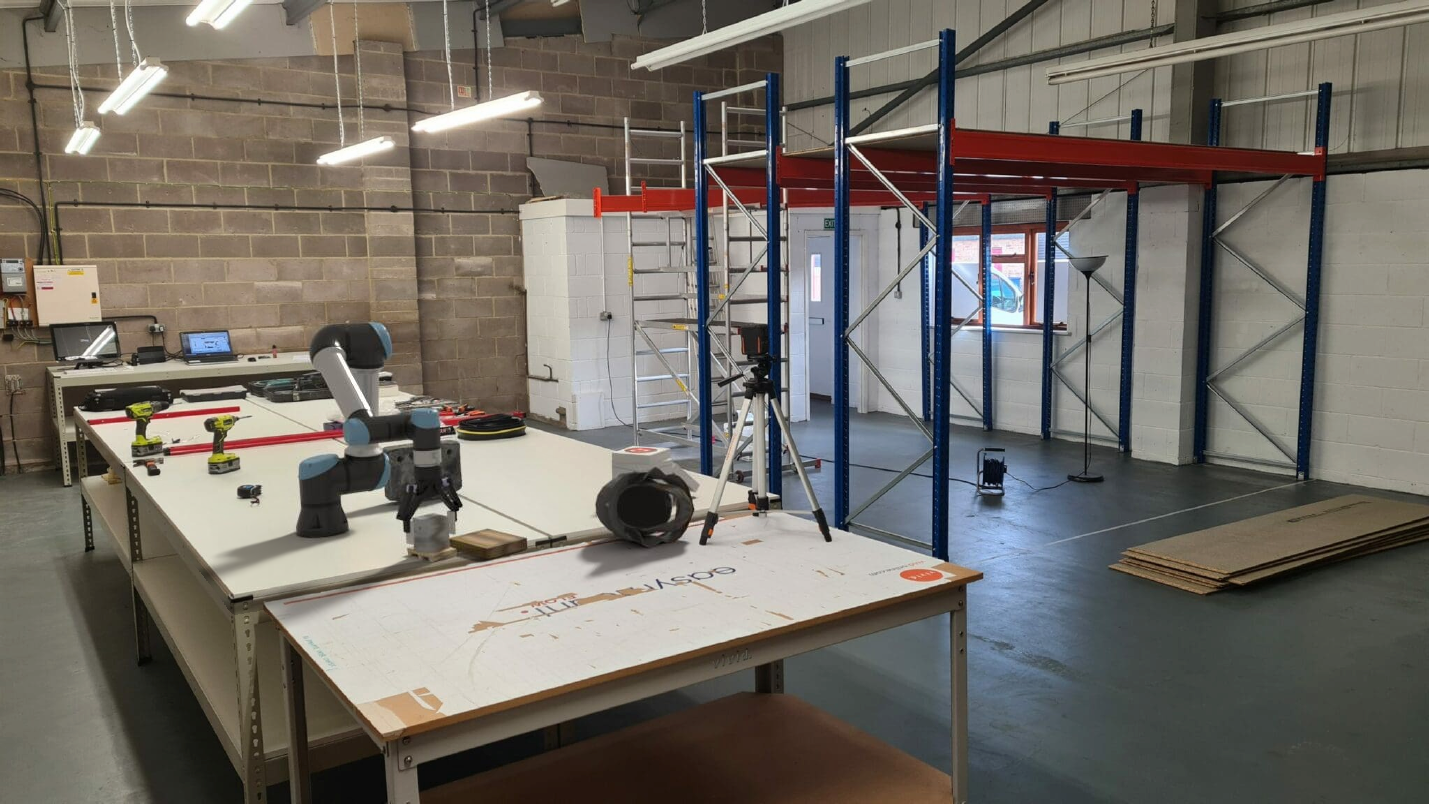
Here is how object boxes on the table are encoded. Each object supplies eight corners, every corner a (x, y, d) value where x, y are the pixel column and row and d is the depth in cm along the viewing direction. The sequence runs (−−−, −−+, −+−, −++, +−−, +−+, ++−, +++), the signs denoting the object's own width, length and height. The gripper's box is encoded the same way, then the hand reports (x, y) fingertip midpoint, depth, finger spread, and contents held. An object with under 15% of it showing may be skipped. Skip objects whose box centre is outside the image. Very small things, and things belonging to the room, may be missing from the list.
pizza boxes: (703, 496, 348) (703, 446, 345) (639, 510, 327) (638, 457, 324) (667, 488, 361) (666, 440, 359) (603, 502, 340) (602, 450, 338)
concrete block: (455, 492, 358) (452, 438, 355) (464, 497, 350) (461, 441, 348) (381, 502, 342) (378, 446, 340) (388, 507, 335) (385, 449, 333)
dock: (487, 559, 271) (487, 548, 271) (448, 548, 283) (448, 538, 282) (527, 548, 282) (527, 537, 282) (488, 538, 293) (487, 528, 293)
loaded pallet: (432, 562, 269) (430, 523, 268) (407, 554, 277) (405, 516, 275) (456, 555, 275) (455, 517, 274) (431, 548, 283) (429, 511, 282)
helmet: (708, 470, 289) (665, 470, 310) (614, 462, 272) (574, 463, 293) (704, 550, 287) (660, 545, 307) (608, 547, 269) (569, 542, 290)
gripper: (396, 472, 261) (400, 550, 263) (473, 459, 280) (476, 531, 283) (380, 469, 266) (384, 546, 268) (457, 456, 285) (460, 527, 287)
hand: (431, 538), depth 275 cm, fingers open, 13 cm apart
